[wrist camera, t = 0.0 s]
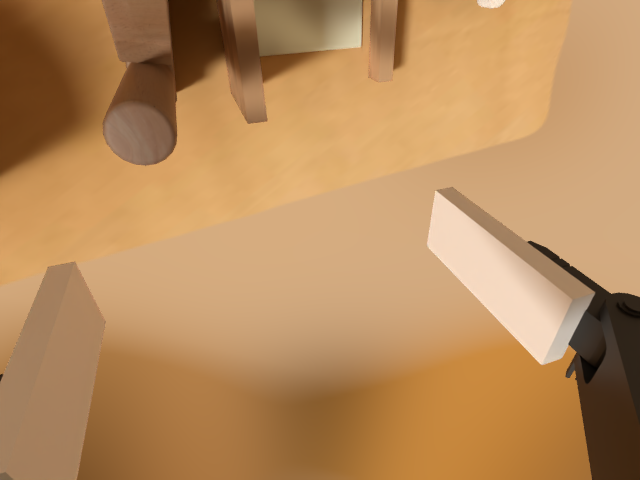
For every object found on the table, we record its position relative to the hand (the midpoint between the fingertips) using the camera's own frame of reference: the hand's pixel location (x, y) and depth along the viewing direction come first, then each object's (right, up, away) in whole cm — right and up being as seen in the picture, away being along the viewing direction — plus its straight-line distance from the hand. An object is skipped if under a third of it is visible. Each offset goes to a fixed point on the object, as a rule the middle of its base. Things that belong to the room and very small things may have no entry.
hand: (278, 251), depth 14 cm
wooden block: (-13, +19, +18) cm, 29 cm away
